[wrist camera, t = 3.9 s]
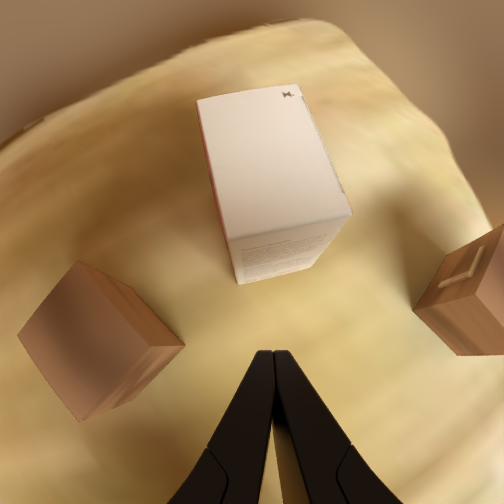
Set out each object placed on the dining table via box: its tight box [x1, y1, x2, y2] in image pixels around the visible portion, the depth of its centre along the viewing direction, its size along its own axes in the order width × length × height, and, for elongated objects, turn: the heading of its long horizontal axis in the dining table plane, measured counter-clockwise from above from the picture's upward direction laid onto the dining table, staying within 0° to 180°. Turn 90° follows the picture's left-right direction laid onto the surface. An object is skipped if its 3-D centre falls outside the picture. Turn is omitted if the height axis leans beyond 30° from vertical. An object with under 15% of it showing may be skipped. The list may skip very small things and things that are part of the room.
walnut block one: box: [17, 260, 186, 422], centre depth 17 cm, size 6×6×8 cm
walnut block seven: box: [413, 224, 504, 356], centre depth 18 cm, size 6×6×8 cm
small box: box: [195, 84, 353, 285], centre depth 19 cm, size 8×6×10 cm
